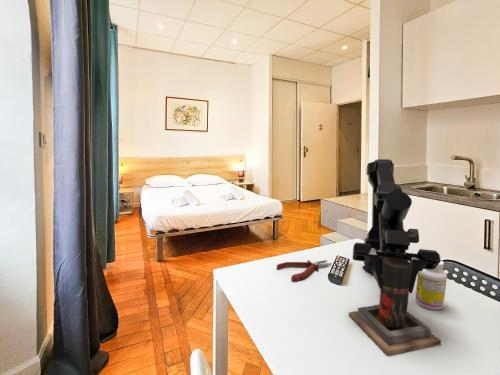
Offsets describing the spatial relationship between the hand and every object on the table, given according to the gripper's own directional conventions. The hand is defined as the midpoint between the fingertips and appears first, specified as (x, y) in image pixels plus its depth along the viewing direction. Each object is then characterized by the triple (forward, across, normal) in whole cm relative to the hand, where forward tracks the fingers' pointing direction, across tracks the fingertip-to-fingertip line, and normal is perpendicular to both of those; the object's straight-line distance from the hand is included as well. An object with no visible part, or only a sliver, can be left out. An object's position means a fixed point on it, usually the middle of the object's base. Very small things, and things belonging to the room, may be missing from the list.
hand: (395, 290), depth 64 cm
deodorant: (+5, 0, +7) cm, 9 cm away
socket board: (+7, 0, +8) cm, 11 cm away
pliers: (-10, -23, +26) cm, 36 cm away
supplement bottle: (-4, +12, +19) cm, 23 cm away
